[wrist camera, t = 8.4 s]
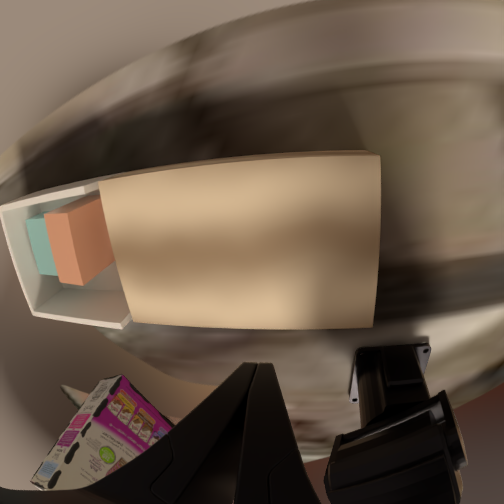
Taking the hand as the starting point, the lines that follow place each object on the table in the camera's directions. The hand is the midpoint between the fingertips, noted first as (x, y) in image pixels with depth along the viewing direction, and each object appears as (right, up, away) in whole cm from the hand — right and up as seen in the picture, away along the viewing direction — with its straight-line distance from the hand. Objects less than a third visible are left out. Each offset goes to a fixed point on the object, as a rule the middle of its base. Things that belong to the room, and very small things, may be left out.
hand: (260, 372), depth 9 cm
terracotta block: (-11, +4, +11) cm, 16 cm away
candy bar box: (-13, -15, +23) cm, 31 cm away
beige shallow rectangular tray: (-1, +5, +12) cm, 13 cm away
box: (-14, +5, +15) cm, 21 cm away
